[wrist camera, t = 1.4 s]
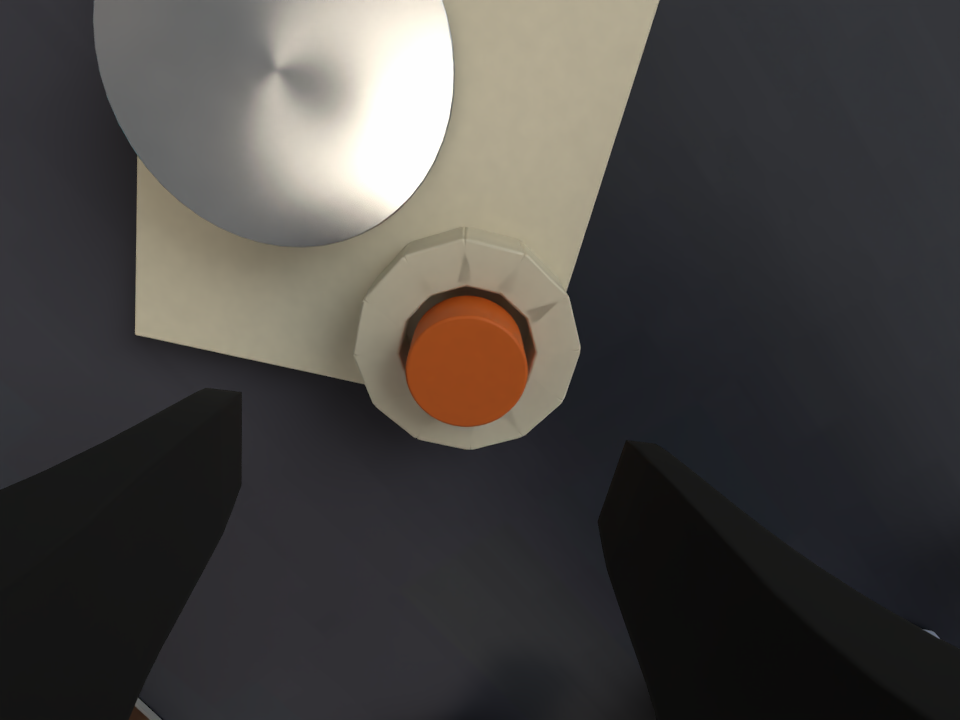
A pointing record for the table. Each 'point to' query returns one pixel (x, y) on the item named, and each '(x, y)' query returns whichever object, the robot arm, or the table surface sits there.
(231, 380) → the table surface
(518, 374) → the tare button
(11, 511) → the robot arm
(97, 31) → the weighing pan
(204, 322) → the scale
